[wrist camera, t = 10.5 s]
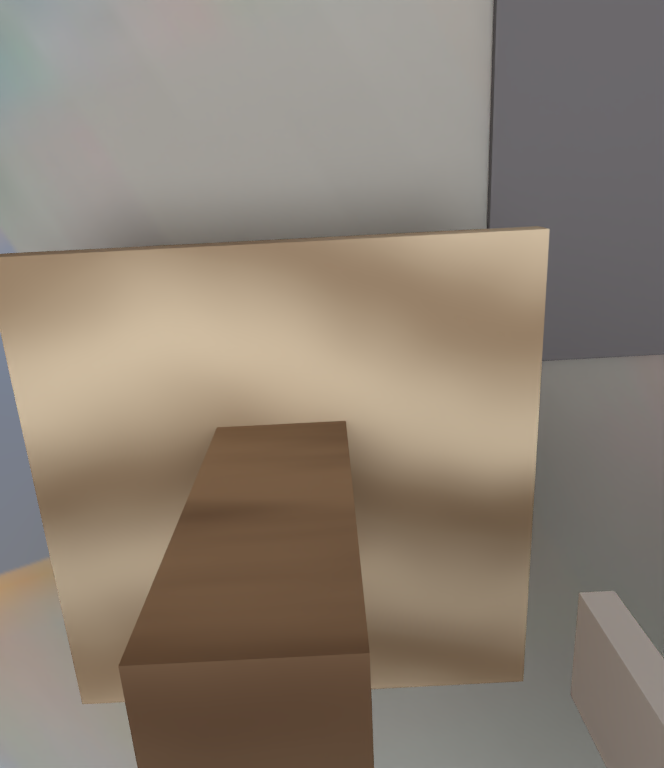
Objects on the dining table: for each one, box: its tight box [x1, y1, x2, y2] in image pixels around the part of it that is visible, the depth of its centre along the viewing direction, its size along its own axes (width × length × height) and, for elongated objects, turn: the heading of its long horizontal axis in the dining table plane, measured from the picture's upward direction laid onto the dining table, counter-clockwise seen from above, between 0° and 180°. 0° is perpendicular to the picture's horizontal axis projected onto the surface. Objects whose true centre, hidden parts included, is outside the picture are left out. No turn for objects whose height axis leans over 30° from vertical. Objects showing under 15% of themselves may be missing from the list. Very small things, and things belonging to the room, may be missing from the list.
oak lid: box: [0, 226, 550, 768], centre depth 16 cm, size 16×16×11 cm
